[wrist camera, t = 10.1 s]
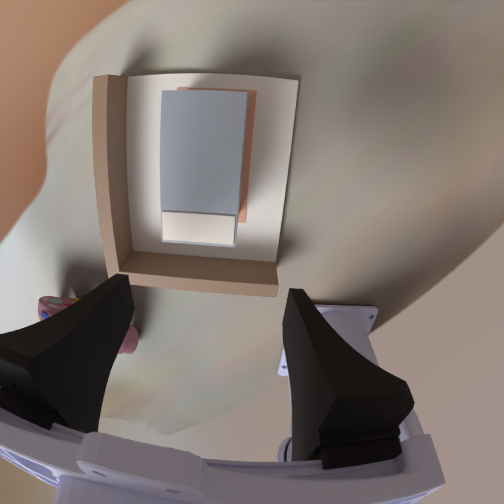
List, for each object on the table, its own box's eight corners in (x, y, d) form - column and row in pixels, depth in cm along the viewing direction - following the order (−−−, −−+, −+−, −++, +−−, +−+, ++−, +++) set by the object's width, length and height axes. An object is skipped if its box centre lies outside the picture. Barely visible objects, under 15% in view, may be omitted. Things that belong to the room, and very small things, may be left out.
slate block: (248, 94, 16) (247, 92, 12) (239, 212, 20) (234, 248, 16) (184, 92, 16) (161, 90, 12) (181, 209, 20) (161, 242, 16)
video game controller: (147, 308, 27) (128, 329, 20) (140, 349, 27) (121, 380, 20) (62, 280, 26) (26, 292, 19) (57, 321, 26) (24, 340, 19)
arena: (273, 269, 23) (276, 297, 20) (125, 257, 23) (109, 281, 20) (297, 81, 16) (306, 76, 13) (117, 78, 16) (93, 76, 13)
